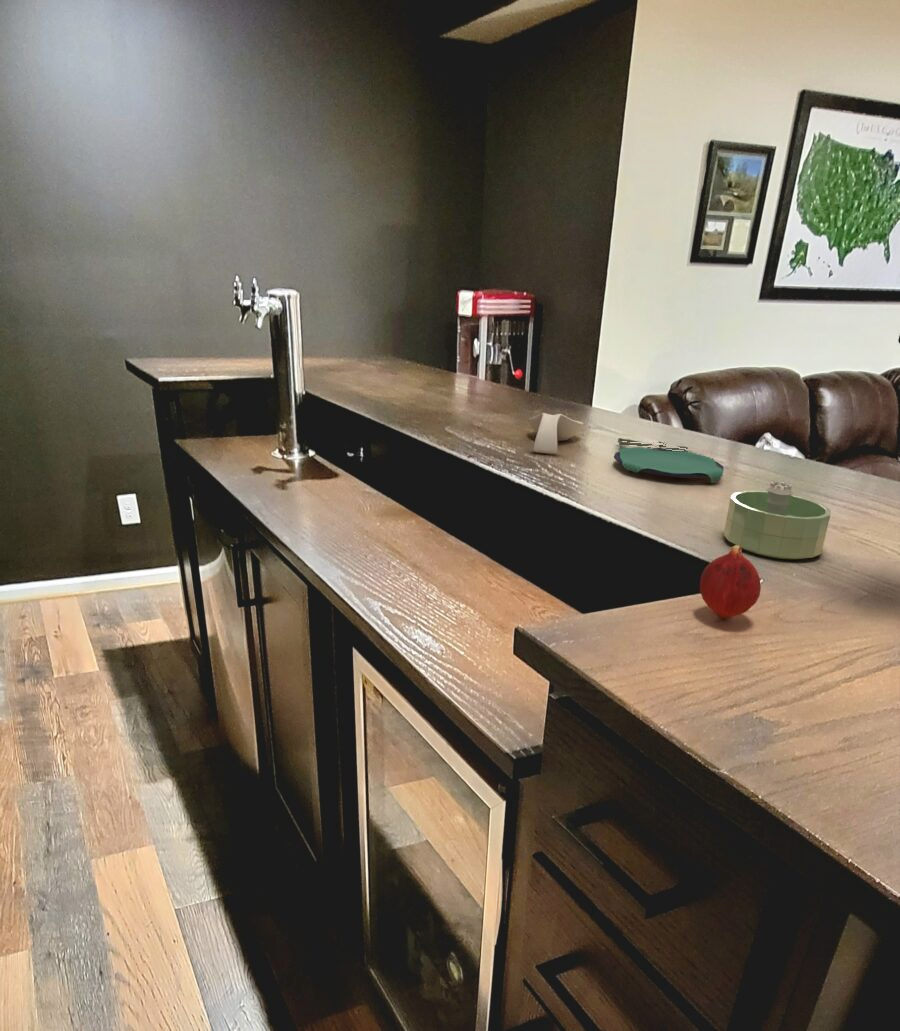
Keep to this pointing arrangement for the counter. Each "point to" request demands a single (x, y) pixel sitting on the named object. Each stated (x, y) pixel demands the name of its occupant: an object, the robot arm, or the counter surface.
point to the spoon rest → (552, 431)
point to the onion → (730, 584)
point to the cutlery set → (667, 461)
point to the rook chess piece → (778, 498)
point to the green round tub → (776, 526)
